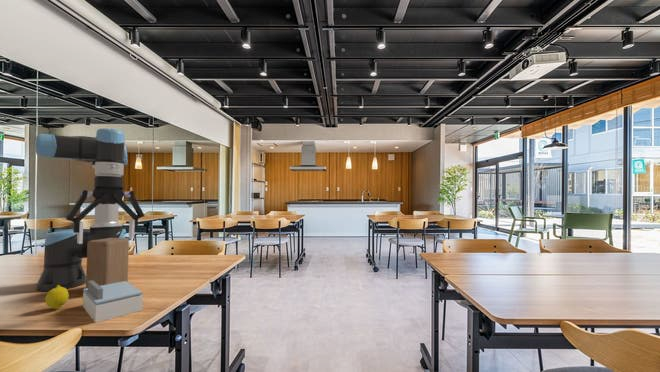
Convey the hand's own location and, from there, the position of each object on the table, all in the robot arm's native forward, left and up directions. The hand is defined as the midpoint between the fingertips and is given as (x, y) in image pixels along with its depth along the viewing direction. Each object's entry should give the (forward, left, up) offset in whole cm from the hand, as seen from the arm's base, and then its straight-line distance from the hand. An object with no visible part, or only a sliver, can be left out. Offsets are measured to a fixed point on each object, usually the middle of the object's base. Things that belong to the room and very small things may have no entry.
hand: (107, 240), depth 92 cm
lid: (-2, +2, -18) cm, 18 cm away
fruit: (-15, -10, -23) cm, 29 cm away
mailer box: (-2, +2, -23) cm, 23 cm away
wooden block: (-28, +6, -23) cm, 37 cm away
